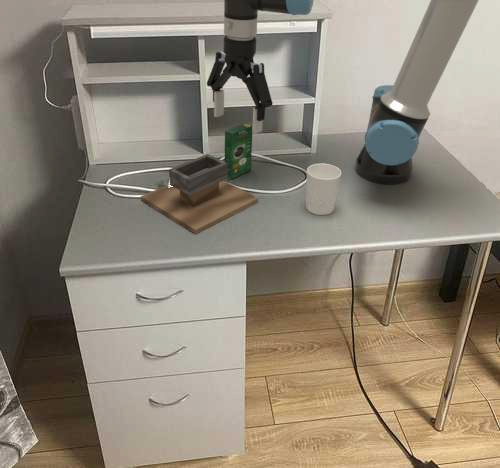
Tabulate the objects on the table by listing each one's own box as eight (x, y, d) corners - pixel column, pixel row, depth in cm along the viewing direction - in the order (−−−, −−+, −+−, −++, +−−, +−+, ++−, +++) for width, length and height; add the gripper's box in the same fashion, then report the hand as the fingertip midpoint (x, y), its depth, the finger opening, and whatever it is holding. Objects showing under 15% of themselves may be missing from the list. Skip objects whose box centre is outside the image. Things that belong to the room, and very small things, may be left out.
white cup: (335, 218, 123) (340, 181, 117) (301, 214, 124) (305, 177, 118) (336, 201, 129) (342, 165, 124) (305, 198, 130) (308, 161, 125)
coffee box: (244, 166, 143) (245, 121, 136) (252, 170, 142) (253, 124, 134) (223, 176, 138) (223, 130, 131) (231, 180, 137) (231, 133, 129)
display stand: (258, 202, 128) (259, 167, 123) (195, 234, 116) (194, 197, 111) (203, 174, 139) (202, 140, 134) (141, 200, 127) (137, 165, 122)
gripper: (191, 27, 125) (193, 112, 137) (269, 51, 111) (263, 143, 123) (215, 23, 129) (214, 106, 141) (292, 45, 115) (284, 135, 128)
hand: (237, 123), depth 132 cm, fingers open, 13 cm apart
